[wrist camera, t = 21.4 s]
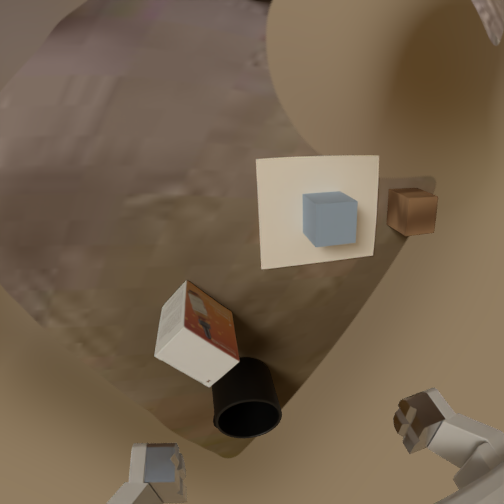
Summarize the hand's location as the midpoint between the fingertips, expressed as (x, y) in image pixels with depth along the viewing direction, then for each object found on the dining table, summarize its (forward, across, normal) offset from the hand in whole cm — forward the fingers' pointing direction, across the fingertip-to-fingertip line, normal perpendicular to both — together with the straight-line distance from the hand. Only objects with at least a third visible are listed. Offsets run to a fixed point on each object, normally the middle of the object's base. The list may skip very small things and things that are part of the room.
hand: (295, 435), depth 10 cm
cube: (+31, -12, +2) cm, 33 cm away
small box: (+31, +5, +14) cm, 35 cm away
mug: (+31, +1, +29) cm, 43 cm away
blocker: (+31, -24, +2) cm, 40 cm away
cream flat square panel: (+31, -12, +2) cm, 33 cm away
